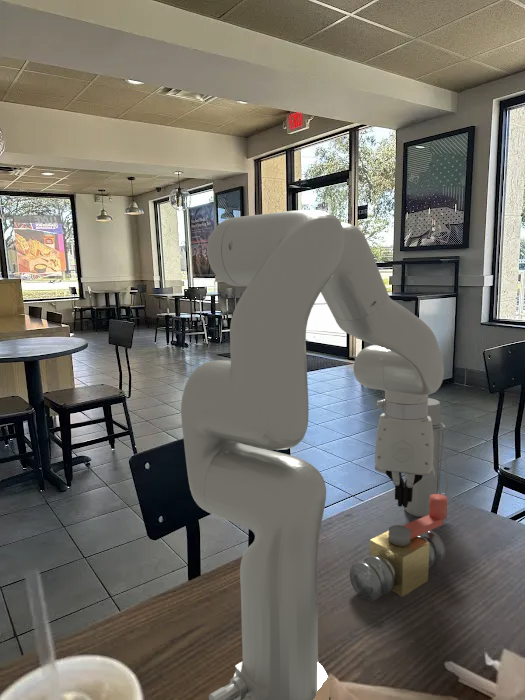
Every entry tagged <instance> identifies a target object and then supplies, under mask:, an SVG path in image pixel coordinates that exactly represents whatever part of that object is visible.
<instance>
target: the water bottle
mask: <svg viewBox="0 0 525 700" xmlns="http://www.w3.org/2000/svg"><path fill="white" fill-rule="evenodd" d="M441 414H442V413H441V403H440V401H439V400H437V399H434V398H430V397H428V415H427V416H430V417H431V421H432V427H433V436H434V462H433V467H434V472H435V476H434V478H432V479H421V480H420V481H418V482H417V483H416V484H414V485H413V494H412V502H409V503H408V506H407V508H405V507H404V506H403V508H404V509H403V510H405V511H406V512H407V513H408V514H410V515H411V516H414V517H419V518H422V517H425V516H427V515H429V504H430V495H432V494H441V495H444V496H446V494H447V493H448V492H447V491H448V485H449V479H448V477H449V476H448V468H447V467H448V466H447V465H448V464H447V456H446V455H447V454H446V442H445V431H446V425H445V424H444V423H443V422H442V417H441V416H442V415H441ZM440 426H441V427H440ZM441 434H442V435H441ZM440 442H441V443H440ZM440 445H441V448H440ZM443 451H444V453H443ZM443 455H444V465H445V477H446V487H445V488H446V489H445V492H443V491H442V490H441V475H442V474H441V473H442V472H441V471H442V460H443V459H442V457H443ZM407 477H408V473H404V479H403V480H404V482H406V480H407Z"/></svg>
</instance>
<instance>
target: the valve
mask: <svg viewBox="0 0 525 700" xmlns="http://www.w3.org/2000/svg"><path fill="white" fill-rule="evenodd" d="M445 549H446V547H445V545H444V542H443V540H442V538H441V537H440V536H439V535H438V534H437V533H436V532H435V531H434V530H433V529H432V530H430V531H428V532H426V533H423V534H421V535H419V536H417V537H414V538H412V539H410V544H408V545H406V546H398V545H394V544H392V543H391V542H390V541H389V530H387V531H385V532H383V533H380V534H379V535H376V536H375V537H372V538H371V539H369V556H368V557H366V558H364V559H363V560H360V561H358V562H356V563H354V564H352V566H351V567H350V570H349V579H350V584H351V587H352V588H353V589H354V592H355V593H356V595H357V596H358V597H359V598H360V599H362V600H363V601H364V602H367V603H372V602H375V601H377V599H379V598H380V597H382V595H383V596H384V595H386V594H388V593H389V592H391V591H392V592H394V593H395V594H397V595H398V596H400V597H401V598H403V597H404V596H406V595H407V594H409V593H411V592H412V591H414V590H416V589H417V588H418V587H421V586H422V585H424V584H425V583H427V582H428V581H429V570H430V569H429V568H431V567H432V566H434V565H436V564H438V563H440V562H441V561H442V560H443V559H444V558H445V556H446V555H445V554H446V550H445Z"/></svg>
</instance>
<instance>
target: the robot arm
mask: <svg viewBox="0 0 525 700" xmlns="http://www.w3.org/2000/svg"><path fill="white" fill-rule="evenodd" d="M206 253H207V254H206V255H207V260H208V264H209V265H210V269H211V270H212V272H213V273H214V275H215V276H216V277H217V278H218V279H219V280H221V281H222V282H223V283H225V284H227V285H229V286H234V287H246V288H245V289H244V291H243V293H241V296H240V297H239V299H238V301H237V304H236V305H235V308H234V310H233V312H232V316H231V318H230V319H231V320H230V327H229V348H230V360H225V359H224V360H222V359H221V360H220V359H219V360H218V359H217V360H211V361H207V362H204V363H203V364H201V365H198V367H197V368H196V369H194V370H193V372H192V373H191V374H190V376H189V377H188V379H187V381H186V383H185V385H184V388H183V393H182V397H181V403H180V414H181V415H180V416H181V426H182V427H181V428H182V437H183V438H182V439H183V444H184V446H183V447H184V454H185V455H184V456H185V464H186V471H187V478H188V485H189V490H190V492H191V493H190V494H191V496H192V498H193V500H194V502H195V504H196V505H197V506H198V507H199V508H201V509H202V510H203V511H205V512H207V513H209V514H211V515H212V516H216V517H219V518H220V519H224V520H226V521H228V522H232V523H234V524H237V525H239V526H241V527H244V528H246V529H249V530H250V531H251V532H252V533H253V535H254V540H253V542H252V543H251V544H250V545H249V546H248V548H246V550H244V553H243V555H242V557H241V561H240V566H239V567H240V568H239V578H240V579H239V583H240V606H241V607H240V608H241V609H240V610H241V611H240V612H241V637H242V638H241V642H242V643H241V645H242V647H241V648H242V650H241V651H242V661H241V662H239V663H237V664H235V672H234V674H233V677H231V679H230V680H229V683H228V684H227V685H225V686H222V687H220V688H217V690H215V691H213V692H211V693H209V696H208V700H313V699H314V698H315V696H316V693H317V691H318V690H319V689H320V688H321V687H322V685H323V683H324V682H325V681H326V680H327V678H329V676H328V673H327V672H326V670H325V668H324V667H323V665H321V663H319V639H318V638H319V635H318V634H319V633H318V632H319V631H318V630H319V624H318V623H319V619H318V618H319V607H318V606H319V605H318V603H319V602H318V601H319V597H318V595H319V594H318V590H319V589H318V588H319V587H318V586H319V585H318V584H319V581H318V580H319V578H318V577H319V576H318V573H319V572H318V571H319V570H318V567H319V566H318V565H319V564H318V563H319V562H318V561H319V545H320V543H319V542H320V534H321V533H320V532H321V528H322V522H323V517H324V512H325V507H326V500H327V486H326V481H325V479H324V477H323V475H322V473H321V472H320V471H319V470H318V468H316V467H315V466H314V465H313V464H312V463H310V462H308V461H306V460H305V459H302V458H300V457H297V456H294V455H291V454H287V453H282V452H279V451H281V450H288V449H292V448H294V447H296V446H298V445H299V444H300V442H301V441H302V440H304V437H305V435H306V434H307V430H308V426H309V414H310V413H309V412H310V411H309V408H310V407H309V405H310V403H309V385H308V383H309V382H308V369H307V368H308V367H307V365H308V364H307V345H306V344H307V343H306V342H307V341H306V340H307V339H306V336H307V326H308V321H309V318H310V314H311V311H312V309H313V307H314V305H315V303H316V301H317V299H318V298H319V296H320V294H321V295H322V297H323V299H324V301H325V303H326V304H327V306H328V308H329V310H330V312H331V314H332V316H333V318H334V321H335V322H336V324H337V326H338V327H339V328H340V329H341V330H342V331H343V332H344V333H346V334H348V335H350V336H352V337H354V338H357V339H359V340H360V341H363V342H365V343H368V344H370V345H369V346H366V347H364V348H363V349H361V350H360V351H359V352H358V353H357V355H356V357H355V358H354V361H353V375H354V378H355V379H356V381H357V382H358V383H359V384H360V385H361V386H364V387H365V388H369V389H372V390H380V391H384V399H381V400H377V401H376V408H379V409H382V410H383V412H382V413H381V414H380V415H379V418H378V424H377V430H376V431H377V432H376V439H375V454H374V462H375V465H374V470H375V471H376V472H378V473H382V474H385V475H386V476H387V477H388V478H389V479H390V480H391V481H392V483H393V485H394V500H397V507H398V508H399V507H400V508H401V507H403V508H404V507H405V508H407V506H408V503H409V502H412V494H413V485H414V484H416V483H417V482H418V481H420V480H421V479H432V478H434V476H435V472H434V467H433V462H434V436H433V427H432V421H431V417H430V416H427V415H428V398H429V395H432V394H434V393H436V392H437V391H438V390H439V388H441V385H442V384H443V381H444V373H445V367H444V360H443V356H442V355H443V354H442V352H441V349H440V345H439V343H438V341H437V340H438V339H437V337H436V335H435V333H434V332H433V331H432V329H431V327H430V326H429V325H428V324H427V323H425V322H424V321H423V320H422V319H421V318H420V317H418V316H417V315H415V314H414V313H413V312H412V311H410V310H409V309H407V308H406V307H404V306H403V305H402V304H400V303H398V302H397V301H395V300H393V299H392V298H391V297H390V295H389V293H388V290H387V287H386V285H385V283H384V280H383V277H382V276H381V272H380V271H379V267H378V265H377V261H376V259H375V257H374V255H373V252H372V250H371V247H370V245H369V242H368V241H367V237H366V236H365V234H364V233H363V232H362V231H361V229H360V228H359V227H357V226H355V225H353V224H351V223H348V222H347V223H346V222H341V221H340V220H339V219H338V217H336V216H335V215H334V214H333V213H329V212H326V211H325V210H324V211H323V210H316V209H304V210H302V209H301V210H289V211H288V210H287V211H277V212H272V213H271V212H270V213H262V214H252V215H244V216H236V217H230V218H228V219H225V220H223V221H221V222H220V223H219V224H217V225H216V226H215V228H214V229H213V230H212V232H211V234H210V236H209V237H208V241H207V248H206ZM274 450H275V451H274ZM405 473H408V477H407V480H406V482H404V479H403V476H402V474H405Z"/></svg>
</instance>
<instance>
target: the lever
mask: <svg viewBox="0 0 525 700" xmlns="http://www.w3.org/2000/svg"><path fill="white" fill-rule="evenodd" d="M447 513H448V497H447V496H446V495H441V493H438V494H432V495H430V504H429V515H427V516H425V517H419V518H417V519H415V520H413V521H410V522H409V523H405V524H403V525H401V524H400V525H399V524H395V525H391V526H389V528H388V531H389V541H390V542H391V543H392V544H394V545H398V546H406V545H408V544H410V539H412V538H414V537H417V536H419V535H421V534H423V533H426V532H428V531H430V530H432V531H433V530H434V529H437V528H439V527H441V526H444V520H445V519H447V516H448V515H447Z"/></svg>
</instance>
